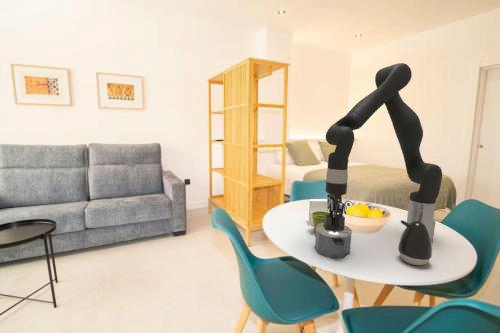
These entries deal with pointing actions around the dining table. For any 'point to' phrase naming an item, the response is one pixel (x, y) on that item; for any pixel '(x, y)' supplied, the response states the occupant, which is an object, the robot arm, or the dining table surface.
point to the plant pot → (318, 218)
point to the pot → (332, 246)
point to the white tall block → (316, 208)
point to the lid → (333, 228)
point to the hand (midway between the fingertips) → (333, 224)
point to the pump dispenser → (415, 243)
